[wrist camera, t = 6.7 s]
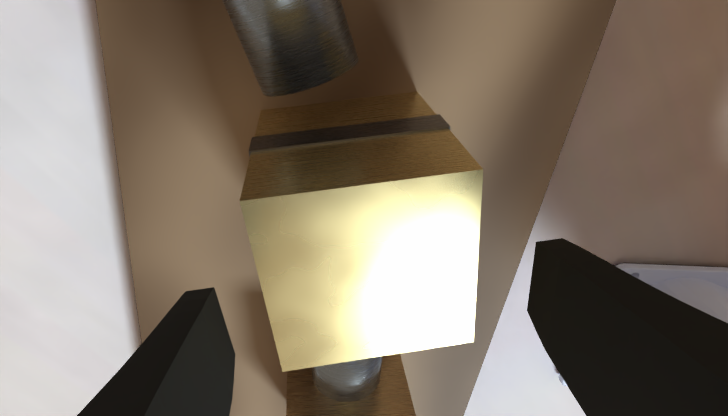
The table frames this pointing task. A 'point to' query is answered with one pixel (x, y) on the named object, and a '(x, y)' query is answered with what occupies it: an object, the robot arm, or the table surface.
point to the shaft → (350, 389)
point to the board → (366, 79)
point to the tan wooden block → (362, 229)
